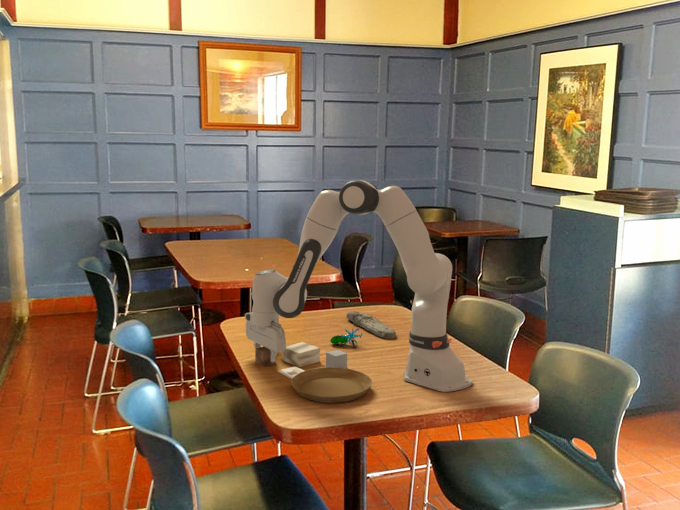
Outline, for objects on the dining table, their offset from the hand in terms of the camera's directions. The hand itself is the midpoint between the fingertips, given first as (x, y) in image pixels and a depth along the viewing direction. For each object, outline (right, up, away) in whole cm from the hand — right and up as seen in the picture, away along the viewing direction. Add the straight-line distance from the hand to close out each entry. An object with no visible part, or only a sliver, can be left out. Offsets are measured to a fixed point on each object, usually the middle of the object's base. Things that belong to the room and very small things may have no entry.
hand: (265, 358), depth 227 cm
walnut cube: (0, -2, 0) cm, 2 cm away
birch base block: (+12, -2, +3) cm, 12 cm away
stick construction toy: (+28, +1, +21) cm, 35 cm away
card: (+11, -4, -10) cm, 15 cm away
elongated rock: (+37, +5, +46) cm, 59 cm away
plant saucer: (+22, -7, -24) cm, 33 cm away
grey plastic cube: (+24, -3, -3) cm, 24 cm away
